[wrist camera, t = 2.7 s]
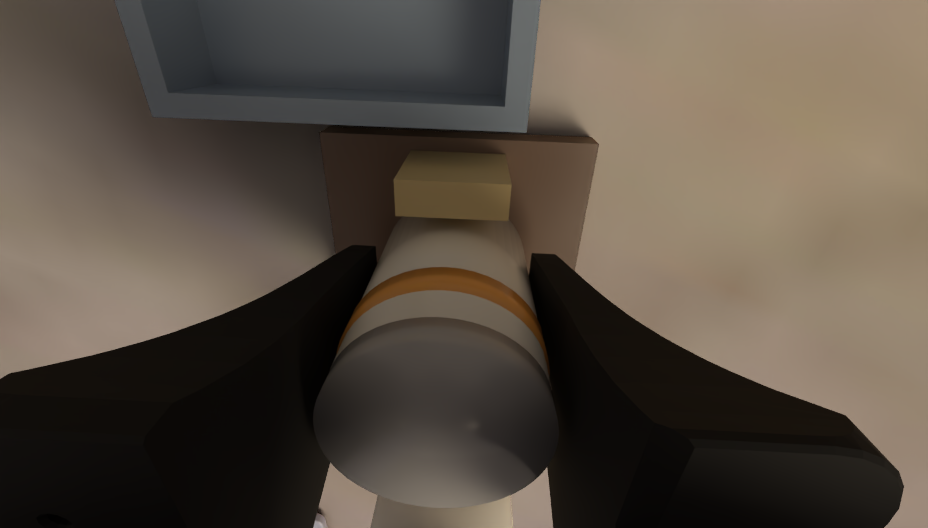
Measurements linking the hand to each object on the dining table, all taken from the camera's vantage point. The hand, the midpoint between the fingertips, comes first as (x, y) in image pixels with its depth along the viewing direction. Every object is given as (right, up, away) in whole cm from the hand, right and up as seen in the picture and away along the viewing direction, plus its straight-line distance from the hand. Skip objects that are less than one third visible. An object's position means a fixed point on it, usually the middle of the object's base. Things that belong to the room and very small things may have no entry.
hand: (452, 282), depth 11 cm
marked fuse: (0, +1, +1) cm, 1 cm away
